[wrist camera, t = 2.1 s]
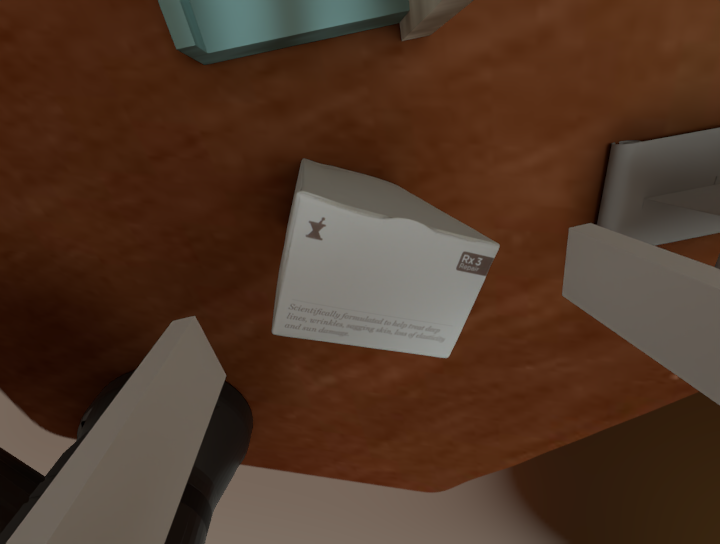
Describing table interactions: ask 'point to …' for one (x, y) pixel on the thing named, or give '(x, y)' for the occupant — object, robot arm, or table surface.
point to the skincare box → (375, 266)
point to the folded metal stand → (664, 188)
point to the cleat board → (291, 22)
